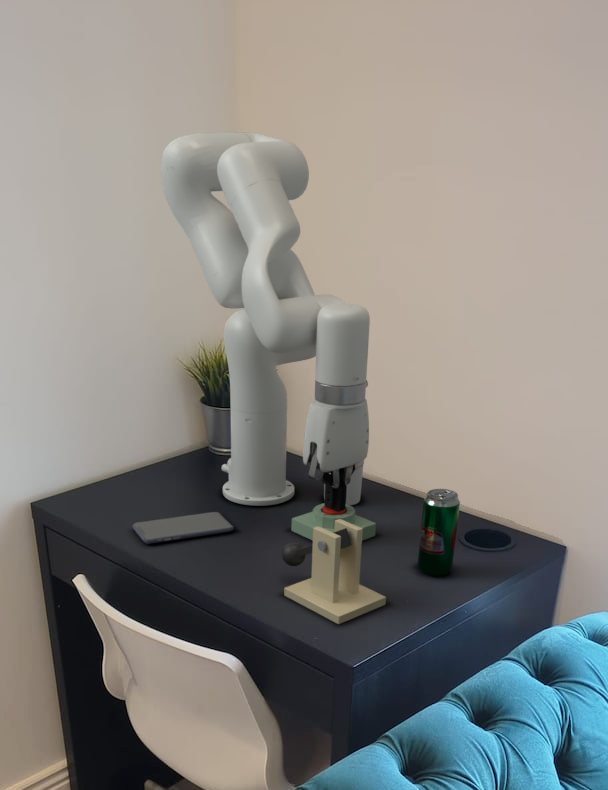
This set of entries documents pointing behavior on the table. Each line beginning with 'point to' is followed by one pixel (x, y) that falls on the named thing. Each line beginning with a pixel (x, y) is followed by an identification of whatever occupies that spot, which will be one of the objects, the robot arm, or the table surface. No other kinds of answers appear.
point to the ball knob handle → (308, 549)
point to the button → (332, 511)
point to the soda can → (438, 532)
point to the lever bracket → (336, 577)
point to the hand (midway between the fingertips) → (334, 508)
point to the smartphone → (182, 527)
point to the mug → (353, 487)
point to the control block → (330, 522)
